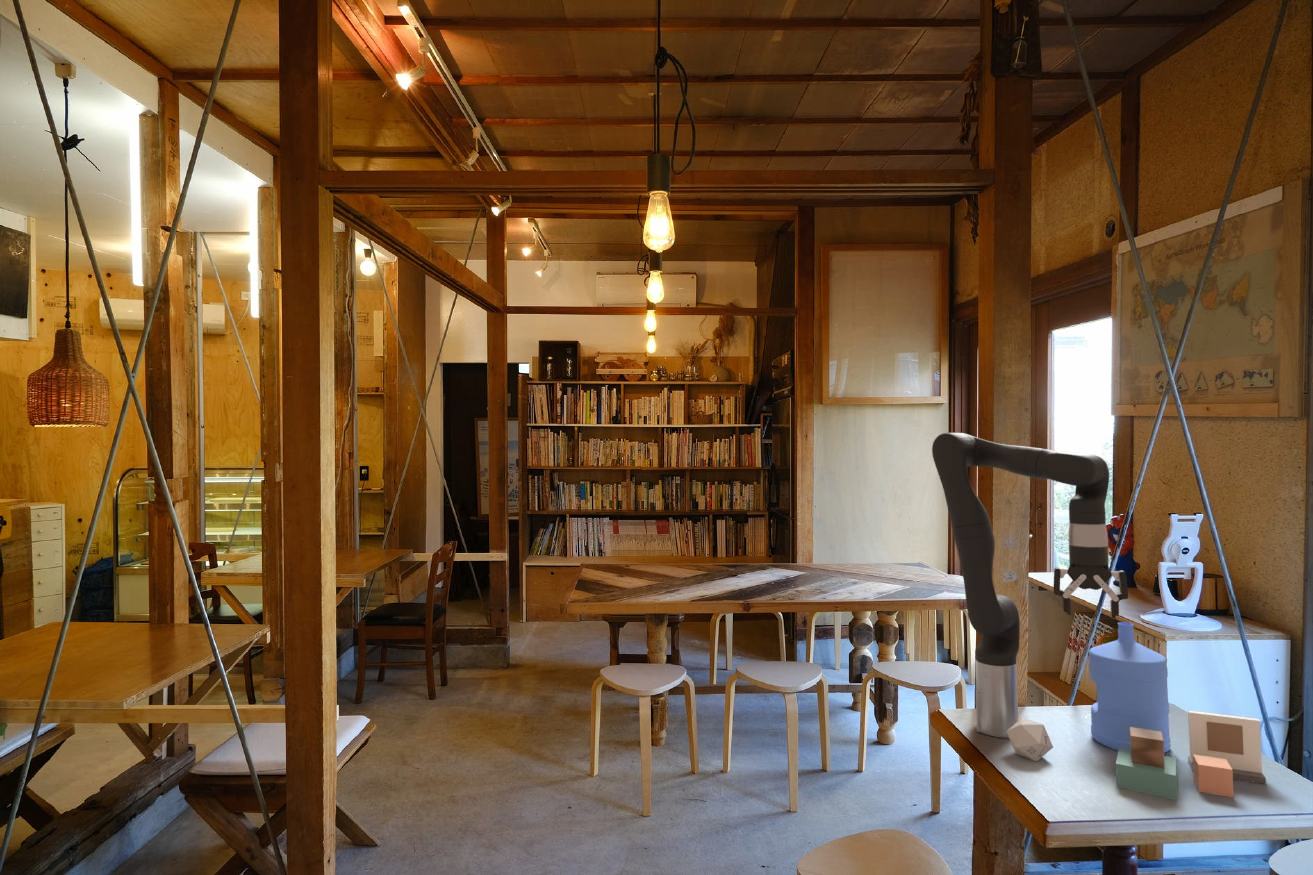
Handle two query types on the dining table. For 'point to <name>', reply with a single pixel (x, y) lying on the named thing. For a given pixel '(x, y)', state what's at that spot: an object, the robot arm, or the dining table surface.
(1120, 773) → the base block
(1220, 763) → the terracotta block
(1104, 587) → the robot arm
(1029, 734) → the die
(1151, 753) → the walnut block
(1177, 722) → the dining table surface
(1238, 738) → the placard
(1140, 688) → the water jug
